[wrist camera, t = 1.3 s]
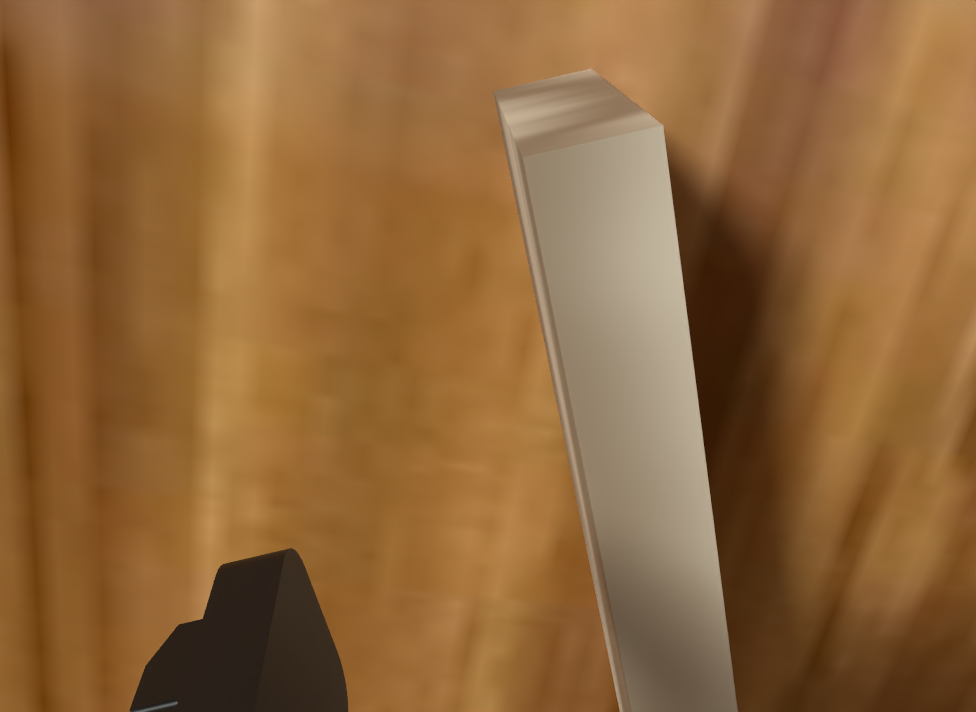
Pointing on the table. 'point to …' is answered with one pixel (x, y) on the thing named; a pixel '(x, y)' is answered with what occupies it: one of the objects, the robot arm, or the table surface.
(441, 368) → the table surface
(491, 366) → the table surface
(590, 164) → the pale wooden bar
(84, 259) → the table surface
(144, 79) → the table surface
